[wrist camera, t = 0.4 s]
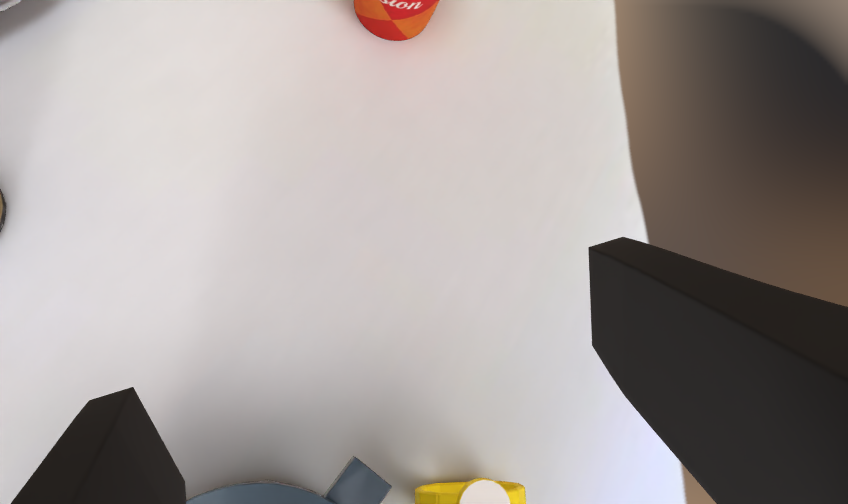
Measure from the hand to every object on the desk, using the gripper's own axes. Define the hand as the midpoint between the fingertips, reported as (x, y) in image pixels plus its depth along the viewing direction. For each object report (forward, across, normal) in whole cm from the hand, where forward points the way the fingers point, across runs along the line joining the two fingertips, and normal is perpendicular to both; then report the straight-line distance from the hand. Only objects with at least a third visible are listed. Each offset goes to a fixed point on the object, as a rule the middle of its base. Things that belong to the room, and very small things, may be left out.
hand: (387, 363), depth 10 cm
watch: (+17, -3, +25) cm, 30 cm away
